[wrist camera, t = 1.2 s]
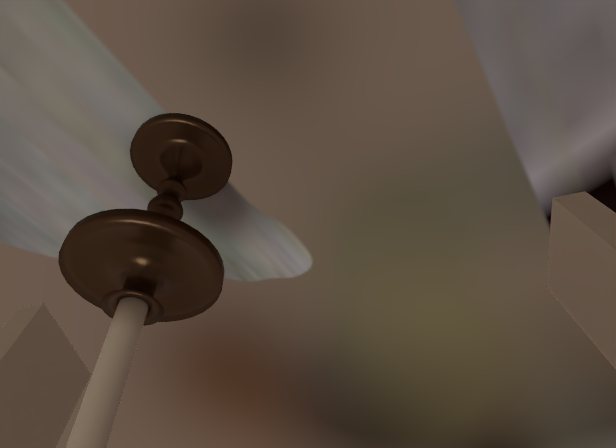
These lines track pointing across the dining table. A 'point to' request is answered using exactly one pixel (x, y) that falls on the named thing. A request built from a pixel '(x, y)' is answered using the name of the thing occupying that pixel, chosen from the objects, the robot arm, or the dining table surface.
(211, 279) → the candlestick
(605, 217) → the robot arm
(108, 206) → the dining table surface
